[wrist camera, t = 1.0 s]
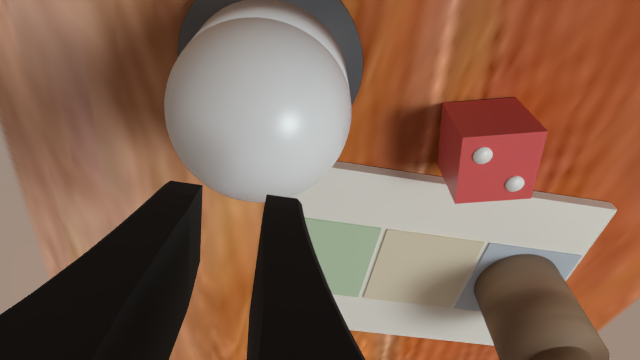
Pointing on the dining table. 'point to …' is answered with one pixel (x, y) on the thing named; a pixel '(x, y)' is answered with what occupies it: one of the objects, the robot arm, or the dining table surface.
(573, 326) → the pawn
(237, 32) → the dome
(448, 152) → the red die
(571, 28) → the dining table surface
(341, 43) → the dome base
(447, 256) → the game board
